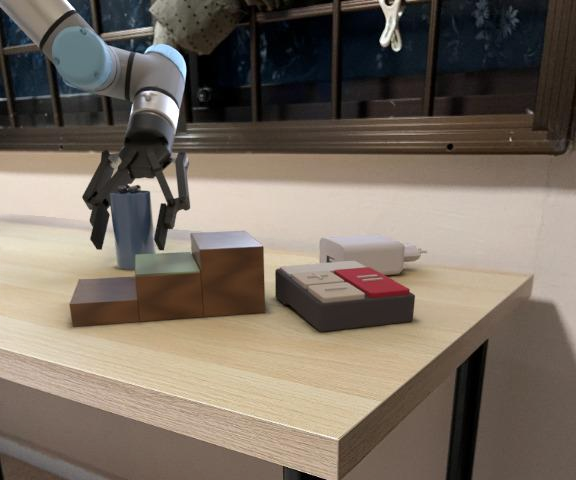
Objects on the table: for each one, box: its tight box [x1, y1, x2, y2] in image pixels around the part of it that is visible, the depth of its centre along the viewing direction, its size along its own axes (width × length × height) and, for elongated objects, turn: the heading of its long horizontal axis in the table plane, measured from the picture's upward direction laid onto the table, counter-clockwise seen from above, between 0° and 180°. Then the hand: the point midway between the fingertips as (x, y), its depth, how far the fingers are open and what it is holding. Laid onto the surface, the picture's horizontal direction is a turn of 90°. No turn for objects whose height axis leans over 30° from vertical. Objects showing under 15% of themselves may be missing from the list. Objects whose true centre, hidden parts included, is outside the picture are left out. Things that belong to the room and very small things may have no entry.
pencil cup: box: [109, 184, 157, 271], centre depth 92 cm, size 6×6×12 cm
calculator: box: [274, 261, 416, 333], centre depth 70 cm, size 11×4×15 cm
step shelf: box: [68, 230, 266, 327], centre depth 71 cm, size 21×12×8 cm, turn 103°
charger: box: [318, 233, 428, 276], centre depth 89 cm, size 5×9×15 cm
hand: (127, 244), depth 90 cm, fingers open, 9 cm apart
